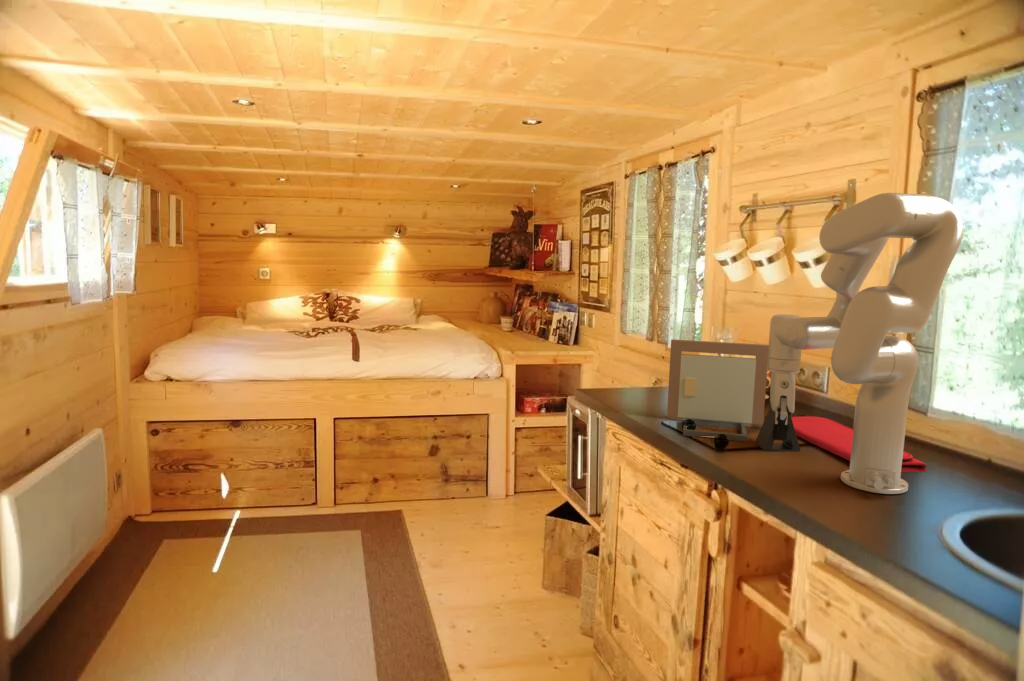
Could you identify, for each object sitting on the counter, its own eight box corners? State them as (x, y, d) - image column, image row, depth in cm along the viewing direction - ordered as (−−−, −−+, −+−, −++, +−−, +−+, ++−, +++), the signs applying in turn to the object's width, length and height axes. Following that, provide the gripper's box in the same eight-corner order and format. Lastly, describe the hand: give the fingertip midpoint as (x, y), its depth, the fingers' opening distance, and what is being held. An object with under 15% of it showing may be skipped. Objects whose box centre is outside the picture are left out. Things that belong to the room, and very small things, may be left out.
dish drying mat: (826, 426, 193) (827, 413, 192) (928, 473, 152) (930, 457, 152) (773, 426, 191) (774, 413, 190) (862, 474, 151) (864, 458, 150)
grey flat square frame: (747, 441, 173) (747, 435, 173) (682, 435, 177) (683, 430, 177) (744, 428, 186) (744, 422, 186) (684, 422, 191) (684, 417, 191)
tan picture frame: (762, 428, 187) (769, 345, 183) (666, 419, 194) (671, 340, 190) (761, 424, 191) (767, 343, 188) (667, 416, 198) (671, 338, 195)
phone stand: (789, 444, 171) (793, 398, 170) (800, 451, 165) (804, 403, 164) (754, 443, 171) (758, 397, 170) (763, 450, 165) (767, 402, 164)
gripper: (804, 372, 156) (798, 447, 159) (795, 360, 173) (790, 429, 175) (770, 369, 158) (764, 444, 161) (764, 358, 175) (759, 426, 177)
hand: (778, 435), depth 168 cm, fingers closed on phone stand, 6 cm apart
